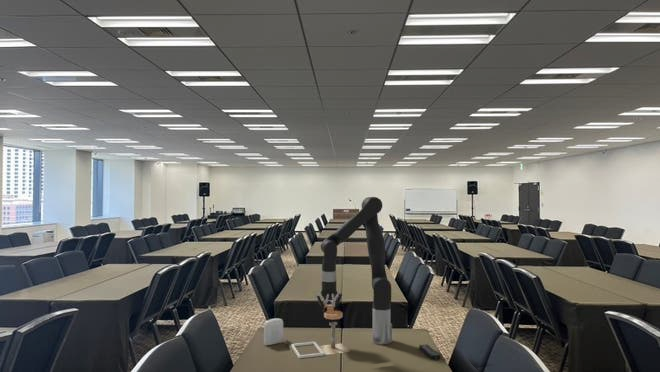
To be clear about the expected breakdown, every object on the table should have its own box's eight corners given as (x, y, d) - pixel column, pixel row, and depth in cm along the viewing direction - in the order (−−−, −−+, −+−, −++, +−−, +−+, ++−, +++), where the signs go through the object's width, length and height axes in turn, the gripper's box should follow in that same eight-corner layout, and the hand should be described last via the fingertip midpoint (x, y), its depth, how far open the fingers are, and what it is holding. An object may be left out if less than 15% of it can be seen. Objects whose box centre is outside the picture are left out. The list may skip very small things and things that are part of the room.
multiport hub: (427, 349, 204) (427, 344, 204) (440, 360, 190) (440, 355, 190) (419, 349, 203) (418, 344, 203) (431, 360, 189) (431, 355, 189)
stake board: (341, 346, 206) (341, 318, 207) (350, 355, 195) (350, 325, 195) (318, 348, 203) (318, 320, 203) (325, 357, 191) (325, 328, 192)
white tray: (314, 346, 206) (314, 341, 206) (324, 358, 190) (324, 353, 190) (291, 349, 202) (291, 344, 202) (298, 361, 187) (298, 356, 187)
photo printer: (280, 340, 215) (280, 316, 215) (284, 342, 211) (284, 318, 212) (262, 343, 209) (262, 319, 210) (265, 346, 206) (266, 321, 206)
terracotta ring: (336, 311, 210) (336, 303, 210) (344, 318, 198) (344, 310, 198) (320, 313, 208) (320, 305, 208) (327, 320, 196) (327, 311, 196)
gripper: (339, 277, 213) (339, 311, 213) (313, 279, 209) (313, 313, 209) (344, 280, 206) (344, 315, 206) (317, 282, 202) (317, 317, 202)
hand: (329, 314), depth 207 cm, fingers closed on terracotta ring, 3 cm apart
